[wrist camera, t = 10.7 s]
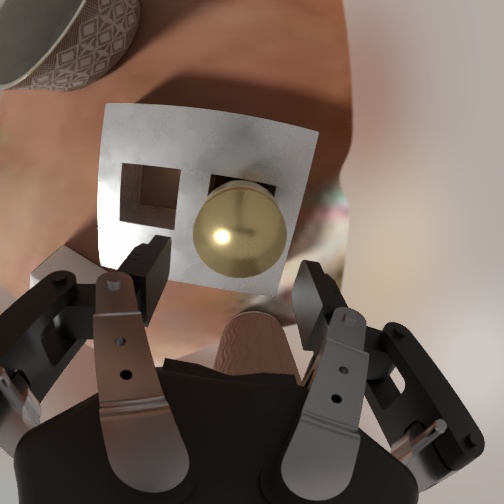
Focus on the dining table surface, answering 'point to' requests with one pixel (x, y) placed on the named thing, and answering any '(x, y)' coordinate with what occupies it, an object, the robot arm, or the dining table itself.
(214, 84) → the dining table surface
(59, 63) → the planter
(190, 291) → the dining table surface
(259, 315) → the coffee cup
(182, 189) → the jig
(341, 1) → the dining table surface
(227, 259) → the brass knob
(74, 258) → the medicine bottle
